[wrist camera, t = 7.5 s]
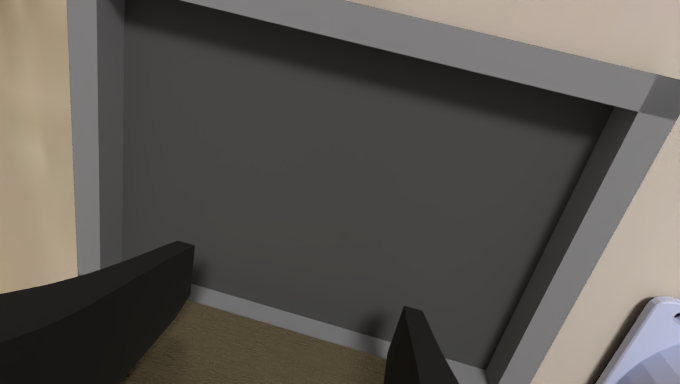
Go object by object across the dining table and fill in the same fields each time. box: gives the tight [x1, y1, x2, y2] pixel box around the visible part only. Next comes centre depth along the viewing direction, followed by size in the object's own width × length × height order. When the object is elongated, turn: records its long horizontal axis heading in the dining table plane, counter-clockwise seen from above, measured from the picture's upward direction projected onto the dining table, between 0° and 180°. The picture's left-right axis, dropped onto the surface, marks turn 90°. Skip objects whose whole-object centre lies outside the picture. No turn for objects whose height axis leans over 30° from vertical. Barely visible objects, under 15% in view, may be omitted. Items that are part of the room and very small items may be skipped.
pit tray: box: [67, 0, 680, 384], centre depth 14 cm, size 18×13×2 cm
